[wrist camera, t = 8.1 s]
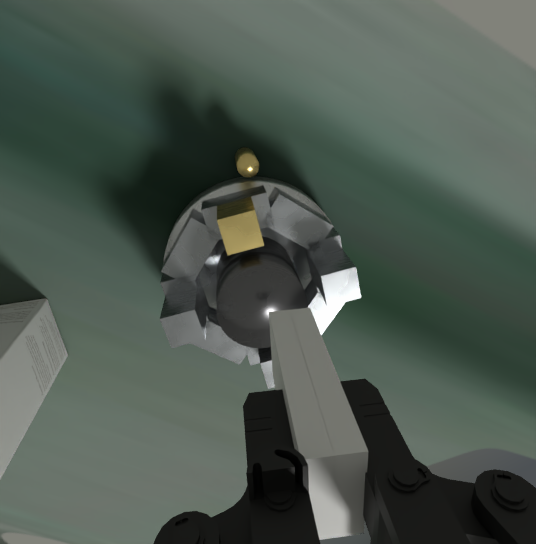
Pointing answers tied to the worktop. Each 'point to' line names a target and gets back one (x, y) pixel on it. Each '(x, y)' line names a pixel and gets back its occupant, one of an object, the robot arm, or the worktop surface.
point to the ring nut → (240, 237)
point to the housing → (252, 269)
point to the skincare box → (25, 368)
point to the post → (246, 162)
